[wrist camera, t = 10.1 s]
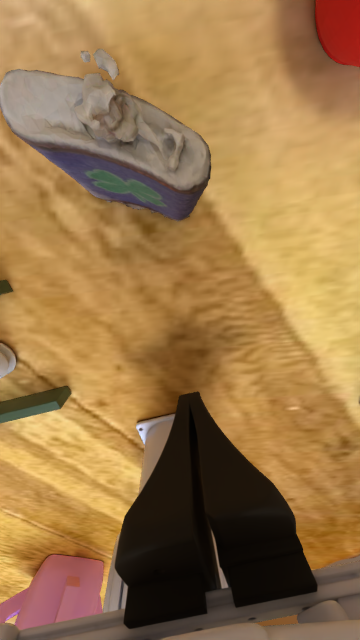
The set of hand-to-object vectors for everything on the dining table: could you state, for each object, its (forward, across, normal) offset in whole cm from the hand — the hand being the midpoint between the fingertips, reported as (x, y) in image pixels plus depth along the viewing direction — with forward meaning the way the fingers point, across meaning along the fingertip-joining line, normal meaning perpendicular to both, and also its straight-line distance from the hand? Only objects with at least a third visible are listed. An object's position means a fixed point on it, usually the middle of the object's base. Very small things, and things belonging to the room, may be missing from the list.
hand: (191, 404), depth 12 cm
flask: (+10, 0, -15) cm, 18 cm away
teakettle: (+10, +35, +46) cm, 59 cm away
